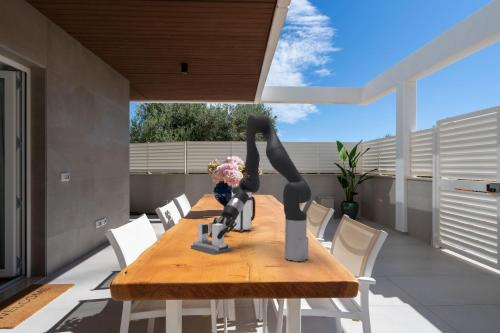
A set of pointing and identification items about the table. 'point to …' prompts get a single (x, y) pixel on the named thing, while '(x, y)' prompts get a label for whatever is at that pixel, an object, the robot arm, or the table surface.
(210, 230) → the teacup
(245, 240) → the table surface
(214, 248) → the rail
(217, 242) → the white stepped block
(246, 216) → the coffee press
